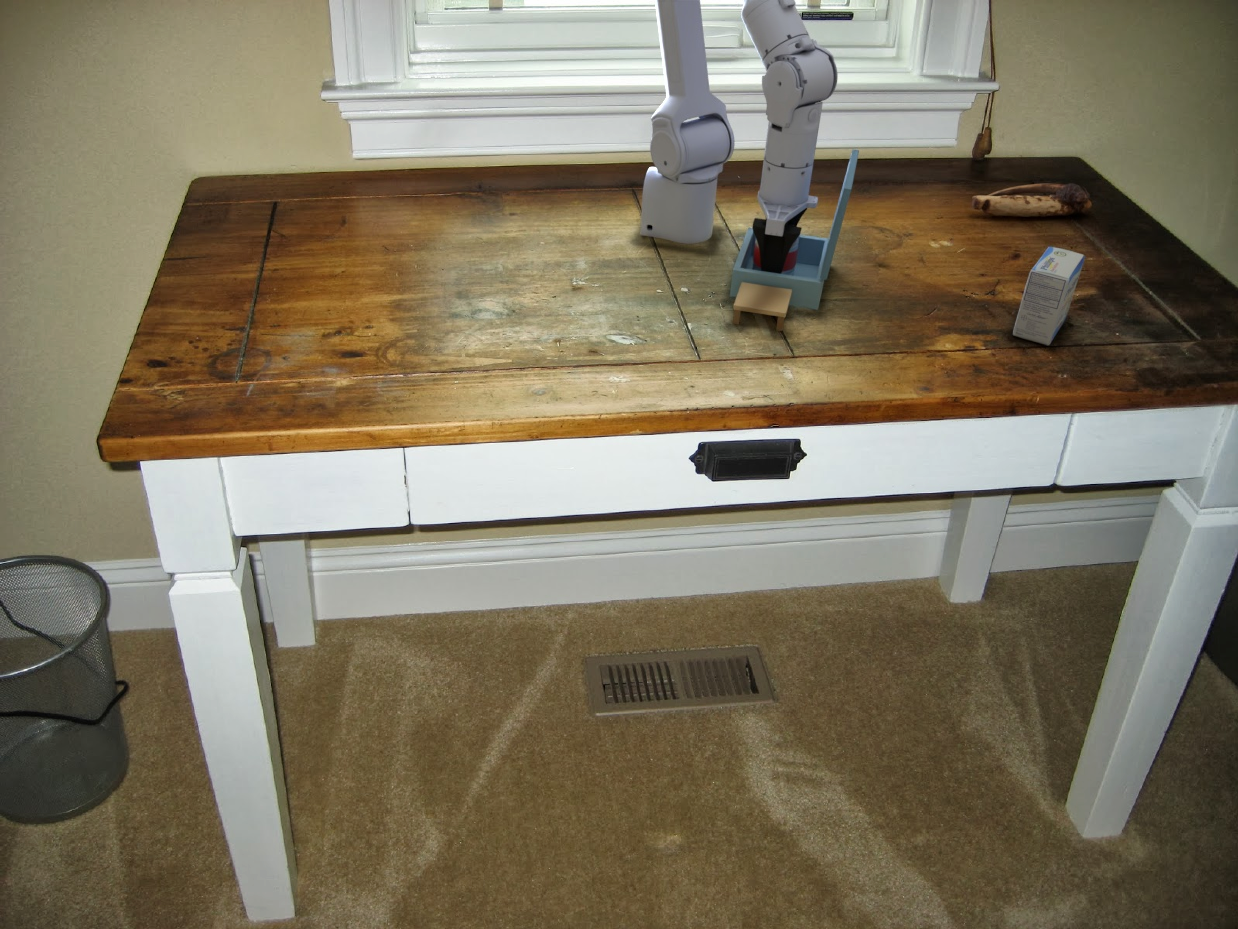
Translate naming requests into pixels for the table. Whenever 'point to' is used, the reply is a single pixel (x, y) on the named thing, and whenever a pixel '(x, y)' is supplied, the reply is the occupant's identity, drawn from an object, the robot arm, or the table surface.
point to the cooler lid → (839, 214)
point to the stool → (762, 302)
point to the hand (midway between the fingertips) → (773, 266)
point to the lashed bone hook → (1035, 201)
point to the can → (790, 260)
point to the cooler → (802, 283)
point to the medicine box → (1048, 295)
